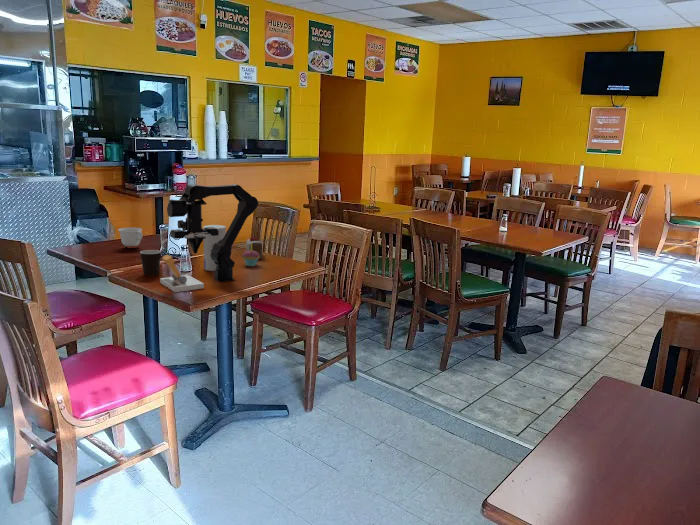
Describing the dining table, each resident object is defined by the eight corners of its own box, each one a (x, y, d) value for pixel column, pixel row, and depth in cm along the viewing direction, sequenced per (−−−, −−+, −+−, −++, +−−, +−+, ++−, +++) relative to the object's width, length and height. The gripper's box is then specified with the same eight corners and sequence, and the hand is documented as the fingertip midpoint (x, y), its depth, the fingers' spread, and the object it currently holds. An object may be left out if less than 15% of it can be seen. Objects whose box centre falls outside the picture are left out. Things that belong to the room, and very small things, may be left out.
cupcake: (261, 266, 266) (261, 242, 264) (243, 267, 263) (243, 242, 260) (257, 262, 274) (257, 238, 271) (240, 263, 271) (240, 239, 268)
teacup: (132, 251, 286) (131, 232, 284) (114, 247, 293) (113, 229, 291) (151, 248, 296) (151, 229, 294) (133, 244, 303) (132, 226, 301)
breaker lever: (179, 275, 230) (167, 254, 225) (184, 278, 226) (171, 257, 221) (174, 279, 229) (161, 257, 224) (179, 281, 225) (166, 260, 220)
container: (218, 272, 252) (218, 228, 248) (199, 269, 255) (198, 226, 251) (230, 267, 261) (229, 225, 257) (211, 265, 265) (211, 223, 260)
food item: (244, 253, 294) (244, 235, 292) (259, 252, 297) (259, 234, 294) (249, 259, 281) (249, 240, 279) (264, 258, 284) (265, 239, 282)
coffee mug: (155, 277, 239) (154, 254, 237) (137, 275, 241) (136, 253, 239) (169, 271, 251) (168, 249, 248) (151, 269, 252) (150, 248, 250)
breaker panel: (188, 279, 238) (187, 268, 237) (203, 288, 226) (203, 276, 225) (160, 283, 231) (160, 271, 230) (174, 292, 219) (174, 280, 218)
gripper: (207, 212, 238) (208, 247, 241) (164, 214, 226) (165, 251, 230) (219, 215, 229) (219, 252, 233) (174, 218, 218) (175, 256, 221)
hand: (195, 253), depth 229 cm, fingers closed
